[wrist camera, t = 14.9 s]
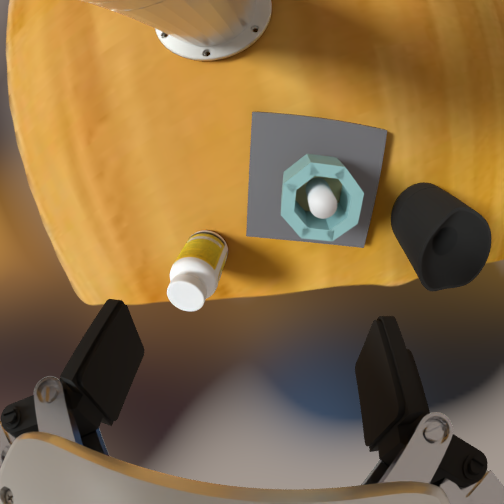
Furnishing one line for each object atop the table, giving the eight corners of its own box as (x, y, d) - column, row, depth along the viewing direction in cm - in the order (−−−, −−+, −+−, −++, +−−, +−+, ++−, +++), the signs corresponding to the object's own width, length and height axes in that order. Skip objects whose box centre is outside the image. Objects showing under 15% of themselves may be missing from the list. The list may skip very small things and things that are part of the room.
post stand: (253, 111, 27) (243, 114, 20) (382, 128, 26) (413, 139, 19) (247, 230, 34) (238, 267, 27) (360, 241, 33) (378, 279, 26)
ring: (285, 151, 25) (285, 159, 22) (356, 160, 25) (368, 170, 21) (279, 218, 29) (278, 236, 25) (345, 225, 28) (353, 243, 25)
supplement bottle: (182, 232, 35) (152, 277, 26) (222, 225, 34) (201, 271, 25) (195, 268, 37) (172, 318, 29) (233, 263, 36) (218, 315, 28)
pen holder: (417, 259, 33) (447, 307, 25) (372, 221, 31) (400, 267, 23) (460, 208, 29) (502, 245, 20) (418, 162, 27) (464, 190, 18)
